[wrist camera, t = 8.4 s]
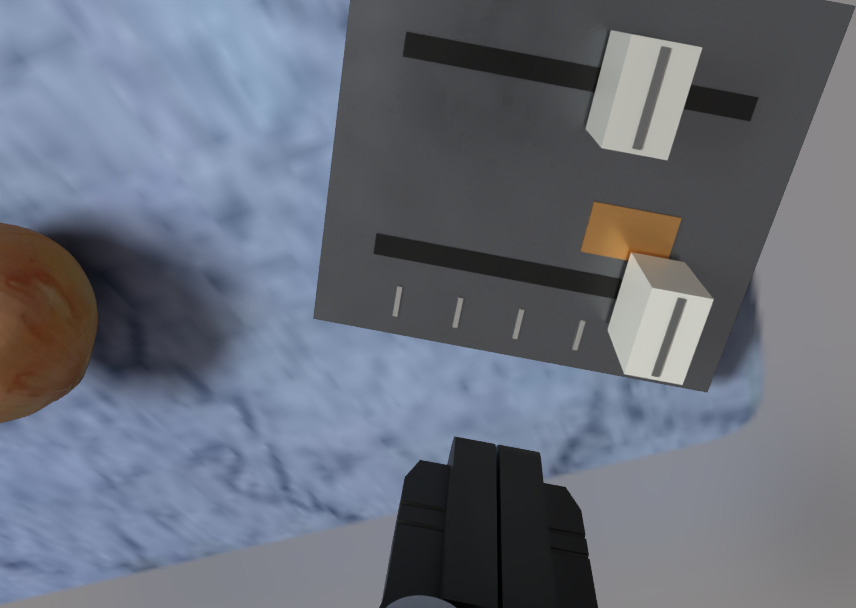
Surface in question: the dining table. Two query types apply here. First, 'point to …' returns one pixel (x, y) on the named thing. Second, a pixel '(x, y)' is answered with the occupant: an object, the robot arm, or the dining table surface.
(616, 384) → the dining table surface
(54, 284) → the onion
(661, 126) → the fader
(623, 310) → the fader
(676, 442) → the dining table surface
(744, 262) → the console
